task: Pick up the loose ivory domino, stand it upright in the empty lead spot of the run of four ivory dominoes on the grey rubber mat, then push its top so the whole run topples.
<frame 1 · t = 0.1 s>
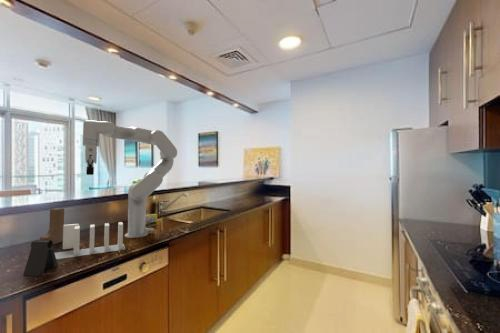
hand: (90, 174, 131), 37 cm above the worktop, tool pointing down, fingers open, 9 cm apart
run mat: (89, 252, 115), on the worktop
candy box: (145, 227, 165), on the worktop
domino 4: (120, 246, 122), resting on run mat
phone stand: (41, 271, 93), on the worktop
wooden block: (51, 244, 126), on the worktop
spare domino: (70, 248, 119), on the worktop
domino 2: (91, 250, 115), resting on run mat
domino 3: (106, 248, 118), resting on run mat
domino 1: (76, 252, 112), resting on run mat
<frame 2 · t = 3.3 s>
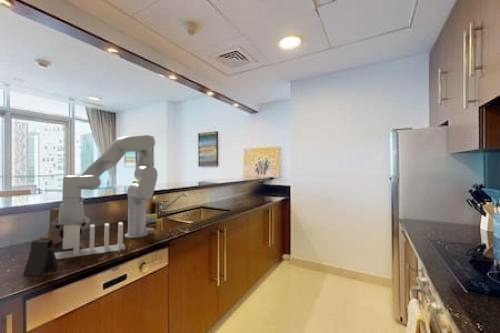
hand: (70, 236, 119), 6 cm above the worktop, tool pointing down, fingers closed on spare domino, 5 cm apart
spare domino: (70, 248, 119), on the worktop, touching gripper
everything else where it was.
when the fingers open (8 cm above the worktop, at t = 10.3 s): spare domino stays where it is, resting on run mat.
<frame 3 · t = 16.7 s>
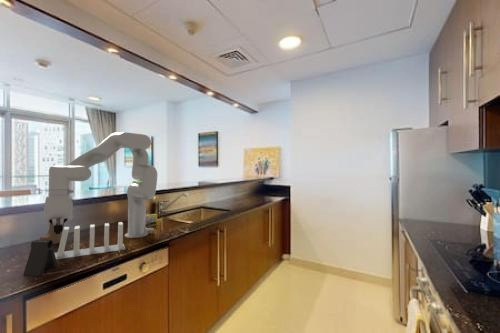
hand: (58, 233, 108), 10 cm above the worktop, tool pointing down, fingers closed
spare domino: (60, 254, 109), point 1 cm above the worktop, tilted 9°, touching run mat
everything else where it was.
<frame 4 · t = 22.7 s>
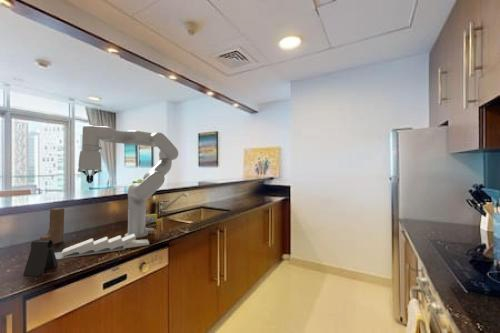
hand: (89, 183, 128), 32 cm above the worktop, tool pointing down, fingers closed
domino 4: (123, 244, 122), point 1 cm above the worktop, tilted 93°, touching domino 3, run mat
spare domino: (63, 252, 109), point 1 cm above the worktop, tilted 72°, touching domino 1, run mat
domino 2: (94, 248, 116), point 1 cm above the worktop, tilted 73°, touching domino 1, domino 3, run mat
domino 3: (109, 246, 119), point 1 cm above the worktop, tilted 73°, touching domino 2, domino 4
domino 1: (79, 250, 113), point 1 cm above the worktop, tilted 72°, touching domino 2, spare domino
everything else where it was.
at the end: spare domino tilted 72°; domino 2 tilted 73°; domino 4 tilted 93° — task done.
